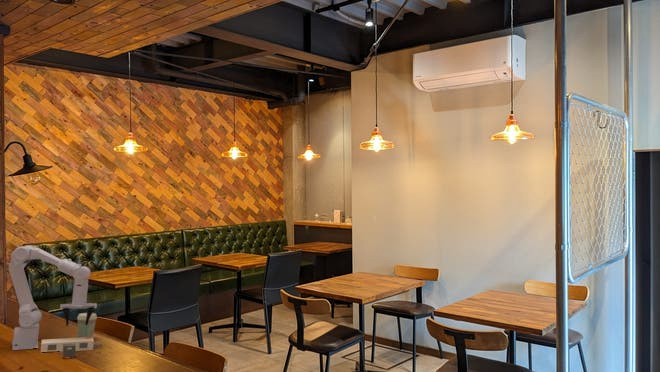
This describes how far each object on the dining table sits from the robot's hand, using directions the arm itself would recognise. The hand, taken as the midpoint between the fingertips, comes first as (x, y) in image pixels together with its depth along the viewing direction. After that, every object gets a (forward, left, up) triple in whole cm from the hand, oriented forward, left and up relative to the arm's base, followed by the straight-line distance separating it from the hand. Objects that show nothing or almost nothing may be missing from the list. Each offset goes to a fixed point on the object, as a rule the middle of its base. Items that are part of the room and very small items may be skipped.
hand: (76, 325), depth 219 cm
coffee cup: (+5, +13, -10) cm, 17 cm away
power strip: (-1, -2, -10) cm, 10 cm away
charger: (-3, -14, -10) cm, 18 cm away
